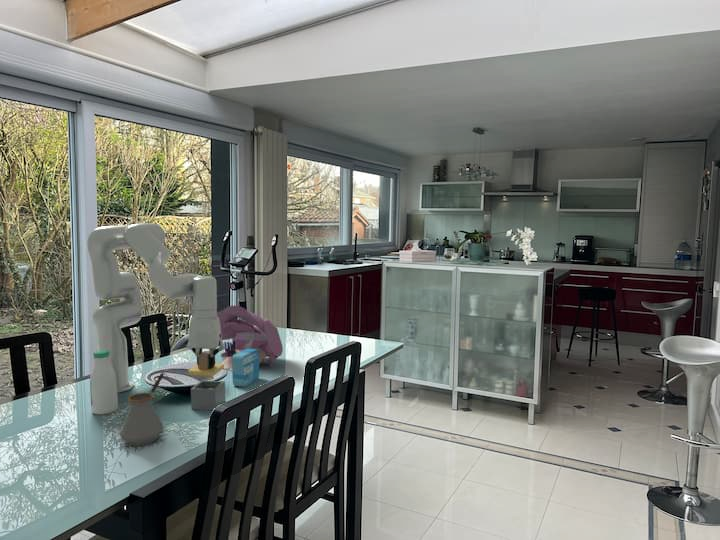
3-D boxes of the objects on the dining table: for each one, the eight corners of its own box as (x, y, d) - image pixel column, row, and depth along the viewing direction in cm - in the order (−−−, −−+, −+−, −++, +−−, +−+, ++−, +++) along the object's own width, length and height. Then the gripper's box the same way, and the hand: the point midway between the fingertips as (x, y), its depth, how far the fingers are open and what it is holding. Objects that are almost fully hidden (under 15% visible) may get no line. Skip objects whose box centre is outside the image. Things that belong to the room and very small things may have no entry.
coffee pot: (152, 449, 141) (150, 397, 139) (112, 448, 142) (109, 396, 140) (183, 418, 162) (181, 372, 160) (148, 417, 163) (146, 371, 161)
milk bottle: (123, 407, 171) (119, 349, 168) (104, 416, 163) (101, 355, 161) (105, 404, 173) (101, 347, 171) (86, 413, 166) (82, 353, 163)
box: (191, 409, 169) (190, 388, 168) (202, 399, 178) (201, 380, 177) (215, 410, 168) (215, 389, 167) (225, 400, 177) (224, 381, 176)
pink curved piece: (201, 378, 215) (185, 316, 207) (226, 353, 236) (213, 296, 228) (278, 377, 206) (264, 312, 198) (297, 350, 228) (286, 291, 220)
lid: (188, 377, 168) (187, 356, 167) (199, 368, 177) (198, 348, 176) (213, 378, 167) (213, 357, 166) (223, 370, 176) (223, 350, 175)
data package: (242, 388, 189) (242, 356, 188) (232, 386, 191) (231, 355, 189) (259, 378, 200) (258, 348, 199) (249, 377, 202) (248, 347, 200)
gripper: (176, 314, 166) (177, 369, 169) (224, 317, 165) (225, 372, 167) (186, 310, 174) (188, 362, 176) (233, 312, 172) (233, 365, 174)
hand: (206, 366), depth 172 cm, fingers closed on lid, 3 cm apart
